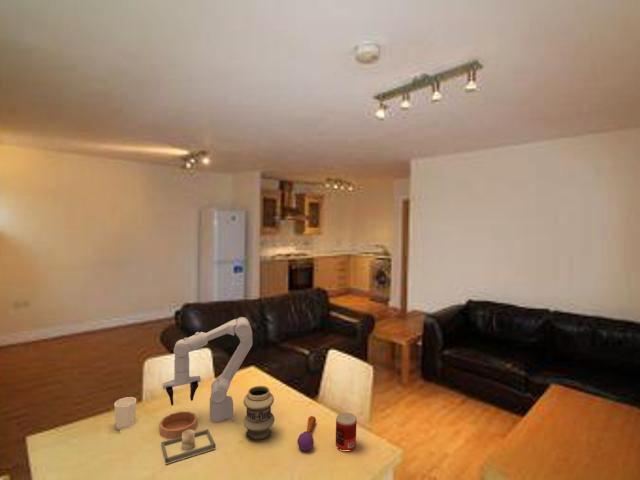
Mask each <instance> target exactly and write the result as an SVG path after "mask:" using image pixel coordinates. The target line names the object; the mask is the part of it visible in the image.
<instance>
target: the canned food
mask: <svg viewBox="0 0 640 480" xmlns="http://www.w3.org/2000/svg"><path fill="white" fill-rule="evenodd" d="M335 418H336V419H335V446H337V447H338V448H339V449H341V450H352V449H353V448H354V447H355V448H356V445H357V416H356V415H355V414H353V413H351V412H341V413H339V414H337V416H336V417H335ZM337 447H336V448H337ZM338 448H337V449H338ZM355 448H354V449H355ZM339 449H338V450H339ZM354 449H353V450H354ZM353 450H352V451H353Z"/></svg>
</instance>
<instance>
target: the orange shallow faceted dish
mask: <svg viewBox="0 0 640 480" xmlns="http://www.w3.org/2000/svg"><path fill="white" fill-rule="evenodd" d="M197 427H198V418H197V416H196V413H194V412H190V411H176V412H174V413H170V414H168V415H166V416H164V417H163V418H161V421H160V422H159V429H158V430H159V434H160V436H161V437H163V438H165V439H175V438H178V437H182V433H183V432H184V431H185V430H190V429H191V430H194V431H196V428H197Z"/></svg>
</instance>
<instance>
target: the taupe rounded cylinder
mask: <svg viewBox="0 0 640 480" xmlns="http://www.w3.org/2000/svg"><path fill="white" fill-rule="evenodd" d="M195 431H196V430H191V429H190V430H185V431H184V432H183V433H182V441H181V450H183V451H191V450H193V449H195V443H196V442H195V440H196V439H195V438H196V437H195V433H196V432H195Z"/></svg>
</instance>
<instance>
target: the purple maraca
mask: <svg viewBox="0 0 640 480" xmlns="http://www.w3.org/2000/svg"><path fill="white" fill-rule="evenodd" d="M316 422H317V419H316V417H315V416H313V415H311V416H309V417H308V420H307V427H306V428H307V429H306V431H303V432H302V433H301V434H300V435H298V438H297V445H298V448H299V449H300V450H301V451H304V452H306V451H309V450H311V448H312V447H313V445H314V438H313V435H312V433H311V431H312V430H313V428H314V426H315V424H316Z"/></svg>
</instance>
